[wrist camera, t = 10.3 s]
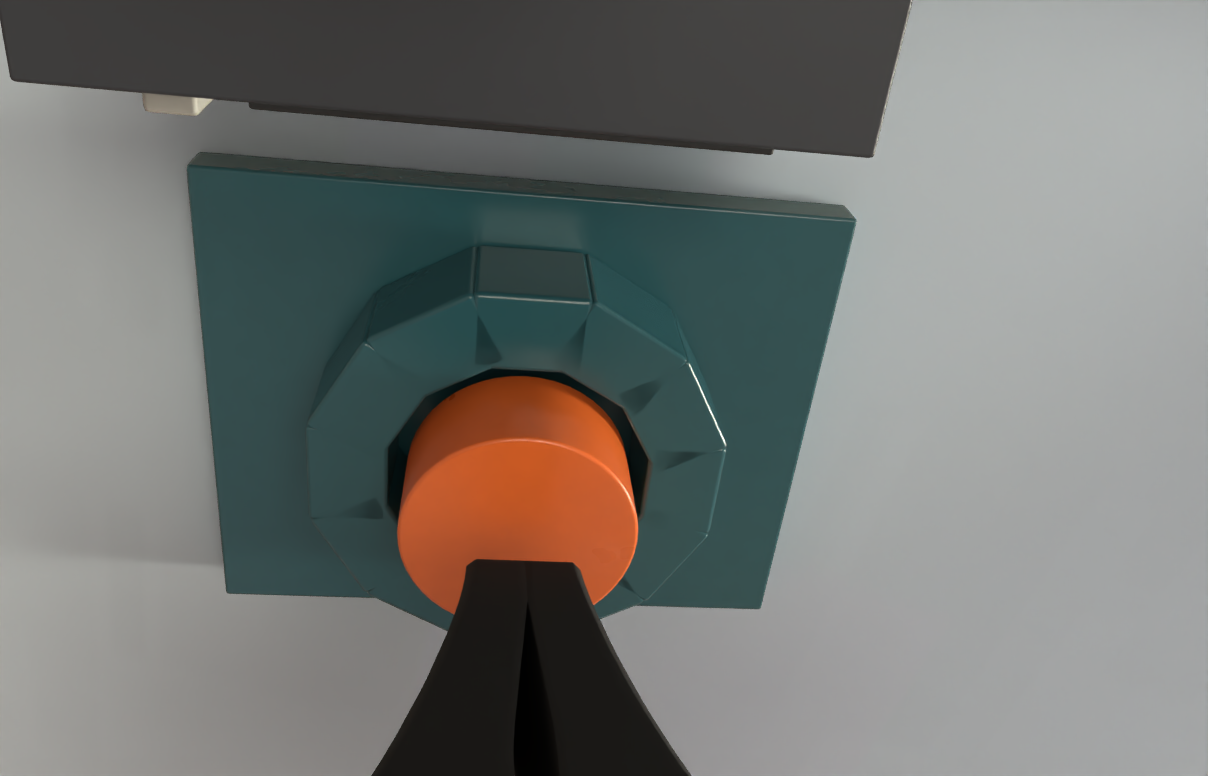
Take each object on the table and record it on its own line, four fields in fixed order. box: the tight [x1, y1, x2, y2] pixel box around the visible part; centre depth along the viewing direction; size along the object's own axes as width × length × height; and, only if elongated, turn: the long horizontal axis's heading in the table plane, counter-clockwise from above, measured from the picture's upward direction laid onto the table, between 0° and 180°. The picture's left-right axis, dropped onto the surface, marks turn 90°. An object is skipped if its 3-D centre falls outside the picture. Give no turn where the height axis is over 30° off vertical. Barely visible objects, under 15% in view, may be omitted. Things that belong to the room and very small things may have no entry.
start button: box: [397, 376, 638, 614], centre depth 15 cm, size 3×3×2 cm
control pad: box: [187, 152, 856, 631], centre depth 16 cm, size 10×8×2 cm
